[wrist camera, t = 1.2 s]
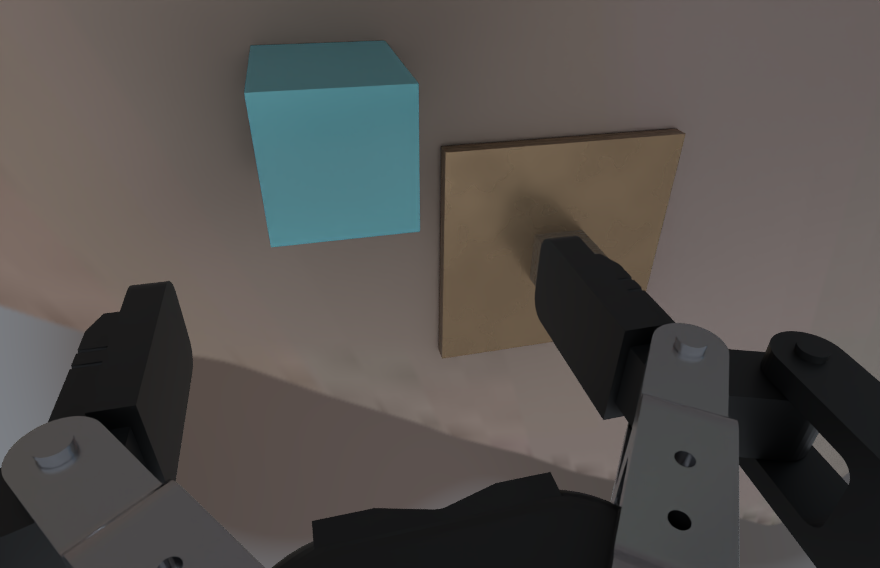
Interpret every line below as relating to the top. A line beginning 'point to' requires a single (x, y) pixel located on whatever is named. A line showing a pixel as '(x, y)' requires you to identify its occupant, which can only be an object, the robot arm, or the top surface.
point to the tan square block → (541, 223)
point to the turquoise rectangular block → (334, 140)
